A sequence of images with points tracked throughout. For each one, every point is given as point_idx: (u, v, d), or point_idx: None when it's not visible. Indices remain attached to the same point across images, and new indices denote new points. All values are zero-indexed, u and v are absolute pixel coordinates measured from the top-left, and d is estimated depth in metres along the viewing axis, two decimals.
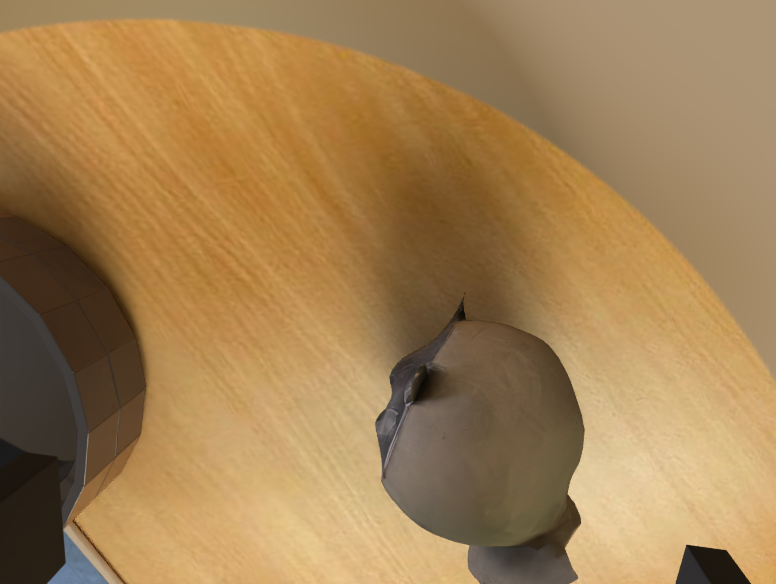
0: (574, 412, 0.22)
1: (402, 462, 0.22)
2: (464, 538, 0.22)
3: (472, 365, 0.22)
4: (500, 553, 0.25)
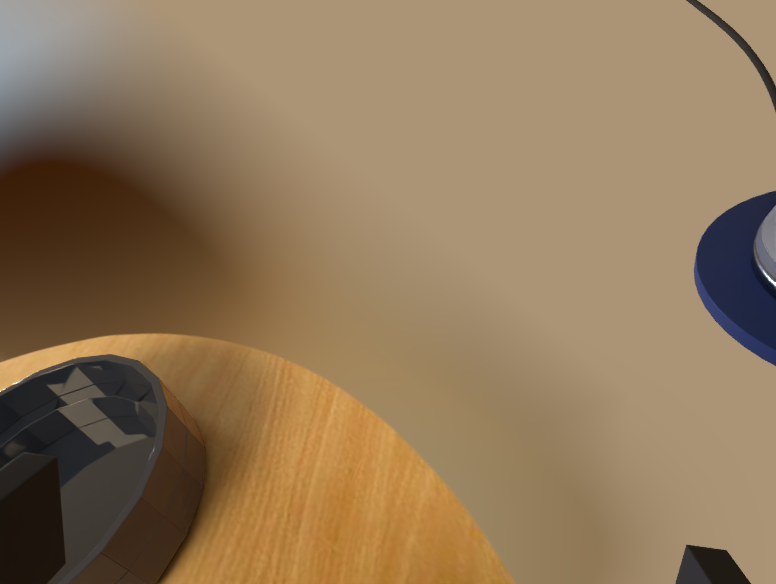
0: None
1: None
2: None
3: None
4: None
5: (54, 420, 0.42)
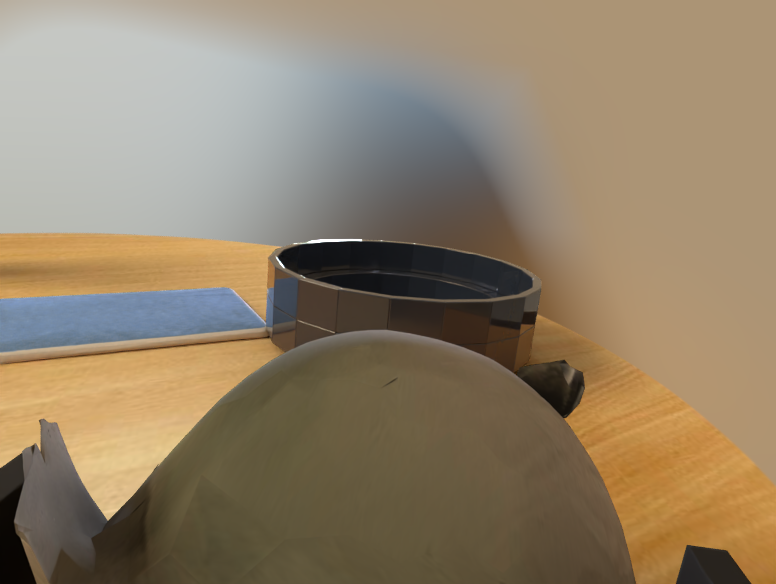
0: None
1: None
2: (274, 360, 0.12)
3: None
4: (97, 507, 0.10)
5: (427, 286, 0.48)
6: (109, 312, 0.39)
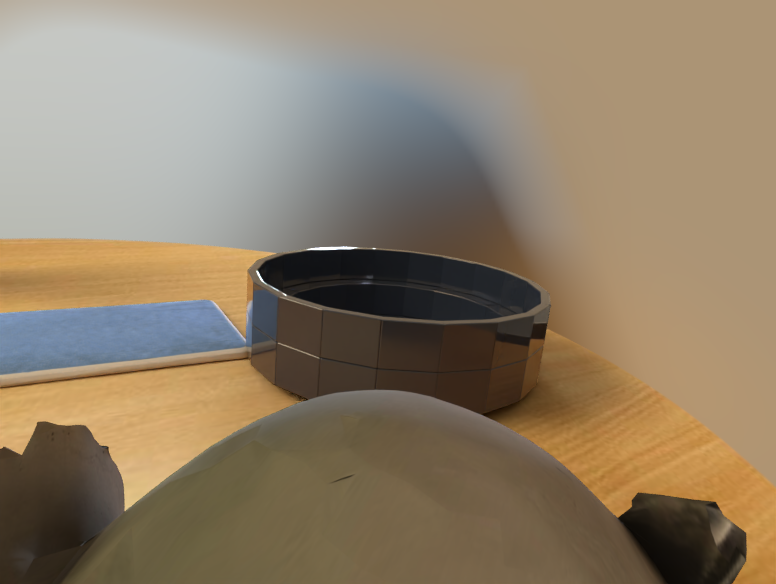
0: None
1: None
2: (286, 408, 0.10)
3: None
4: (100, 520, 0.10)
5: (425, 297, 0.45)
6: (73, 331, 0.36)
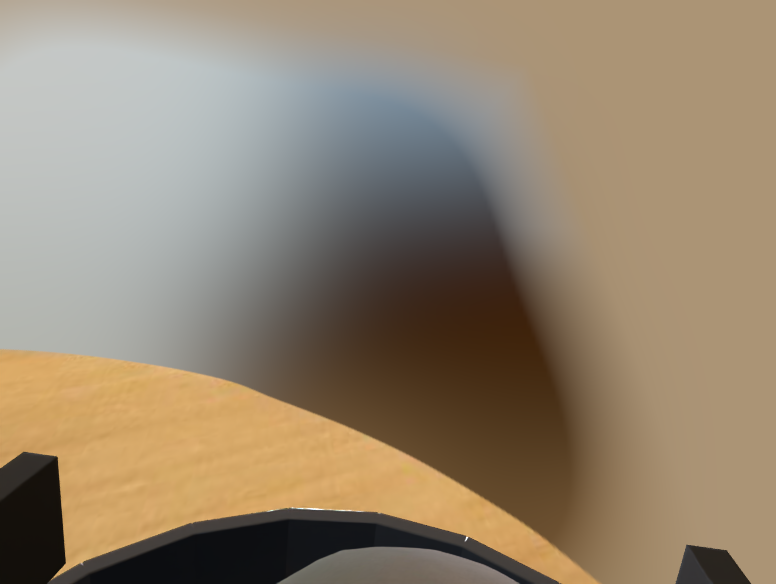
0: None
1: (497, 572, 0.11)
2: (294, 578, 0.11)
3: None
4: None
5: None
6: None
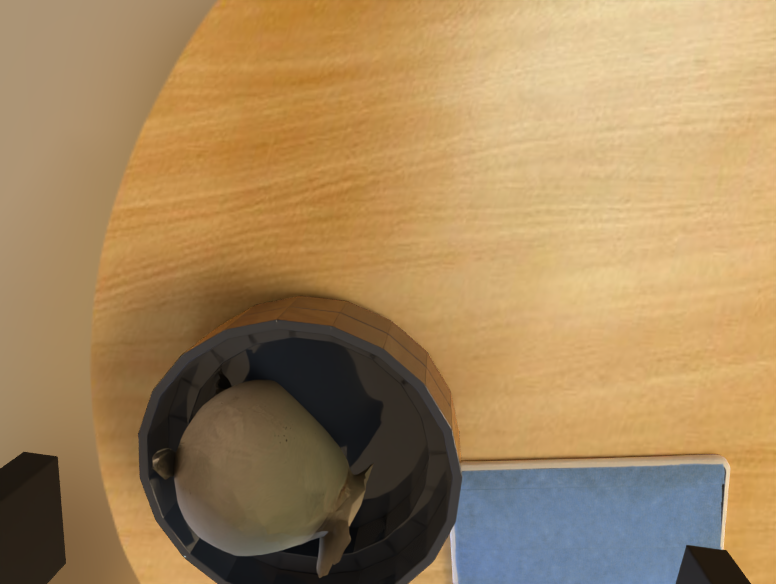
0: (279, 429, 0.29)
1: (186, 519, 0.29)
2: (254, 551, 0.29)
3: (196, 433, 0.29)
4: (321, 544, 0.32)
5: None
6: (597, 544, 0.38)
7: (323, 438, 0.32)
